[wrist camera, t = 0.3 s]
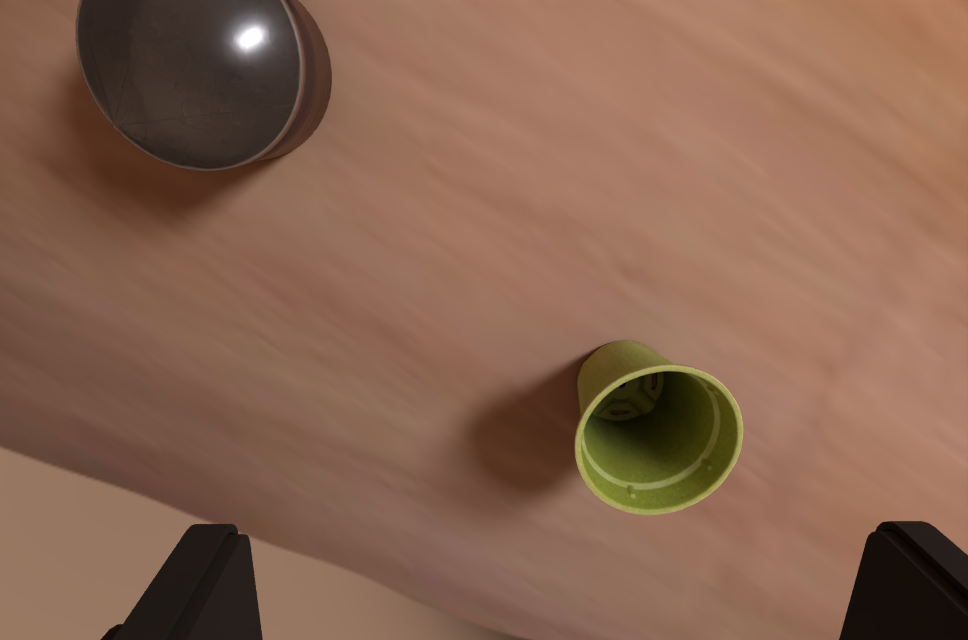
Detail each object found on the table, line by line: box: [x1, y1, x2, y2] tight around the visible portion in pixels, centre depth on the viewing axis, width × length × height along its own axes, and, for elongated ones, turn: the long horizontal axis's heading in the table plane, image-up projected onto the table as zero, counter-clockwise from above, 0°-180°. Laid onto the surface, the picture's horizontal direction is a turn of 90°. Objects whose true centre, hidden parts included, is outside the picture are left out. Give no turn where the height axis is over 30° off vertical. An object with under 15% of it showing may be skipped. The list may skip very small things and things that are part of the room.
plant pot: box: [574, 341, 743, 515], centre depth 37 cm, size 9×9×9 cm
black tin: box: [76, 0, 332, 171], centre depth 30 cm, size 10×10×7 cm
